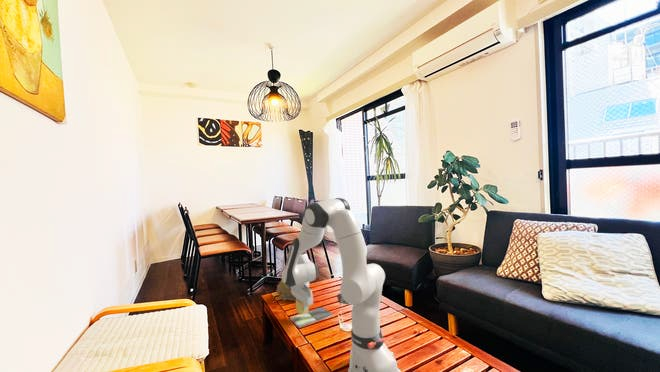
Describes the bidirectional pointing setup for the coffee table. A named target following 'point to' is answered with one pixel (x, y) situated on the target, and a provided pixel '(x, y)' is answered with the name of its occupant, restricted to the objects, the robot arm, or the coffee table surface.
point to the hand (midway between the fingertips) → (302, 307)
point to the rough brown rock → (285, 292)
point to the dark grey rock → (341, 299)
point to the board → (311, 317)
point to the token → (300, 307)
